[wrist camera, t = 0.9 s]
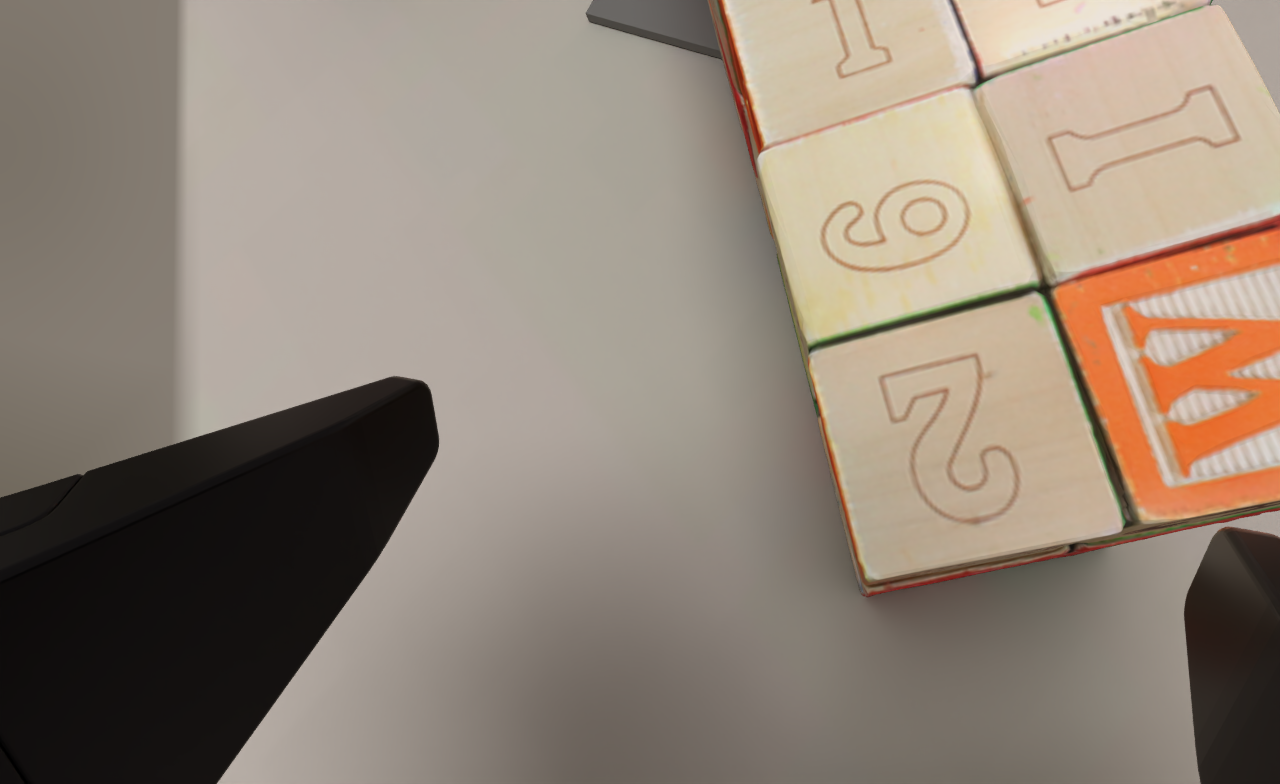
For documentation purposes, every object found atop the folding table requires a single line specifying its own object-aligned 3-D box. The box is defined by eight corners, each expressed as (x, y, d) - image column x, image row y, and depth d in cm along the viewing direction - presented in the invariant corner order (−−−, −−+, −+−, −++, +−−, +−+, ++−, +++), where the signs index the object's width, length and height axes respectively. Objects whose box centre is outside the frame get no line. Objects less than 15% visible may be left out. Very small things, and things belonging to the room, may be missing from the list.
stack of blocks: (695, -39, 28) (574, -505, 16) (881, -107, 26) (894, -664, 15) (862, 603, 21) (859, 592, 10) (1121, 552, 20) (1473, 469, 8)
